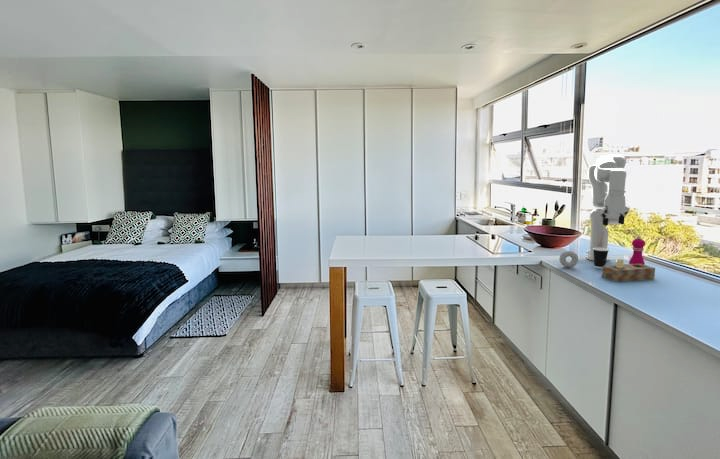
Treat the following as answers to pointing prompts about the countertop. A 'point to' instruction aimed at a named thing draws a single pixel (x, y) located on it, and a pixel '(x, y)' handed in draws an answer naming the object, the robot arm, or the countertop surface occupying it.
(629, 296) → the countertop surface
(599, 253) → the dixie cup
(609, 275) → the hole block
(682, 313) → the countertop surface
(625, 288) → the countertop surface
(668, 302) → the countertop surface
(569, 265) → the donut
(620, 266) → the brass peg
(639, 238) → the pepper mill
